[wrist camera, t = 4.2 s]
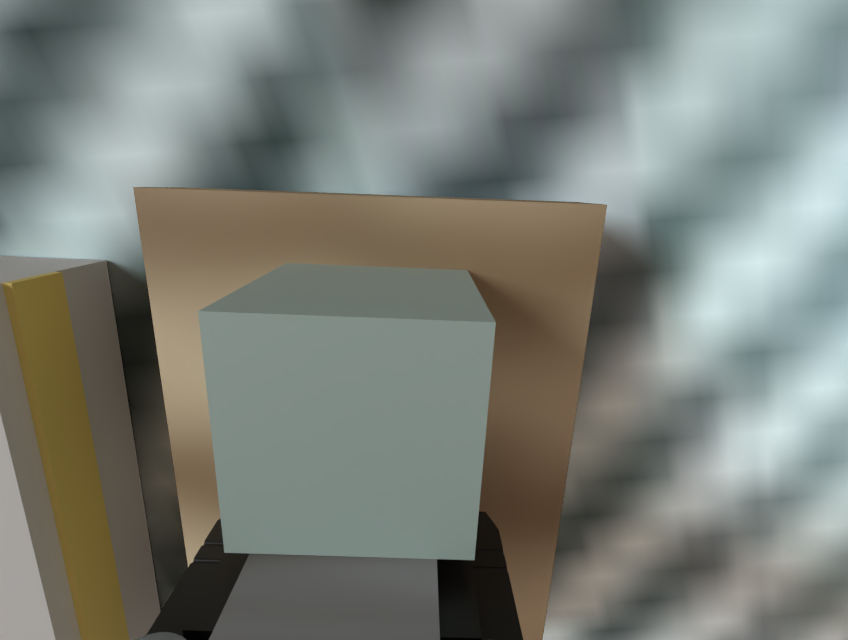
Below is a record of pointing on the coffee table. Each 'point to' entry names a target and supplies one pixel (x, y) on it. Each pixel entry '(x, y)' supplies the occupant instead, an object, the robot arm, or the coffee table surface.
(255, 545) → the block
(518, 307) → the tan boxy piece
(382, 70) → the coffee table surface
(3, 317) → the block
